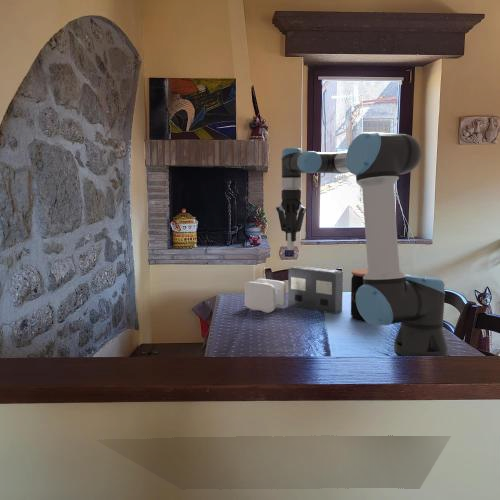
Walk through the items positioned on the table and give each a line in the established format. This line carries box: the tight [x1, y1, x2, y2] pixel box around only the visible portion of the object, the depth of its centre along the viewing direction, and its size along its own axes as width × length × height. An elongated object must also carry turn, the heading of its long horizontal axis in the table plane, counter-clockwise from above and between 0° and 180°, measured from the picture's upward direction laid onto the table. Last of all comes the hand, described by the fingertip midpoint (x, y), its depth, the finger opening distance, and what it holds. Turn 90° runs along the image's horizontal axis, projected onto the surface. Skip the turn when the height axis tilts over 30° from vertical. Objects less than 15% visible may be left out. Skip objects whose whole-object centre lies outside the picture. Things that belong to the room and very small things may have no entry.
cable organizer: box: [244, 278, 287, 314], centre depth 184 cm, size 15×11×12 cm
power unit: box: [287, 265, 344, 314], centre depth 184 cm, size 6×22×16 cm, turn 52°
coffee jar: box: [350, 268, 368, 323], centre depth 169 cm, size 11×11×18 cm
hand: (290, 249), depth 176 cm, fingers closed
